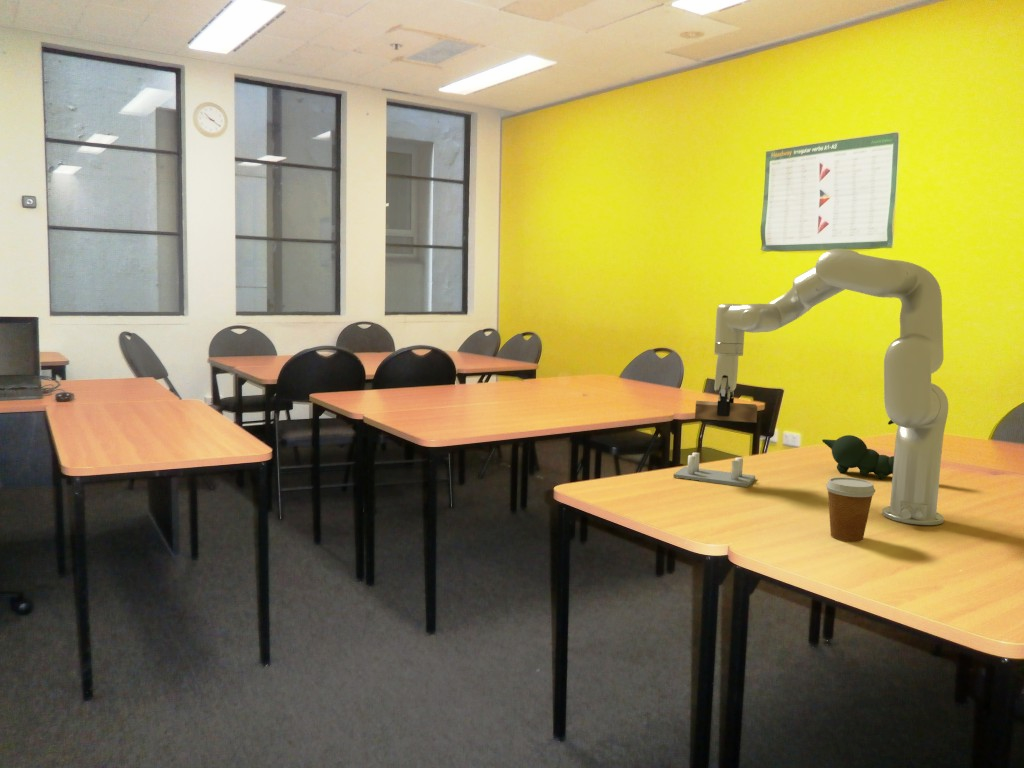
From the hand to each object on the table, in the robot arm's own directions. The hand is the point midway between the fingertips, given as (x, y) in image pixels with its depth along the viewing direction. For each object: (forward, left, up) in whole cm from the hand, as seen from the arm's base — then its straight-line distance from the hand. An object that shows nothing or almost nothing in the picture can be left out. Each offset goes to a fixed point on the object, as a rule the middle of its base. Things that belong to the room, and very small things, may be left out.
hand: (725, 413), depth 209 cm
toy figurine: (+28, -35, -19) cm, 49 cm away
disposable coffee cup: (-38, -35, -19) cm, 55 cm away
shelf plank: (0, 0, -1) cm, 1 cm away
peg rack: (0, +2, -18) cm, 19 cm away
